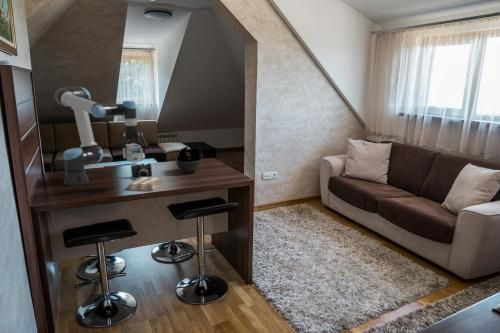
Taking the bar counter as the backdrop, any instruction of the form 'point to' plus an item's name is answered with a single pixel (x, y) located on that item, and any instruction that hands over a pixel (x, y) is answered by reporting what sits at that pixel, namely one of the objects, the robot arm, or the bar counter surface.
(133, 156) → the light bulb box
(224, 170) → the bar counter surface
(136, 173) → the camera
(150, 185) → the base
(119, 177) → the bar counter surface
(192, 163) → the coal bowl
